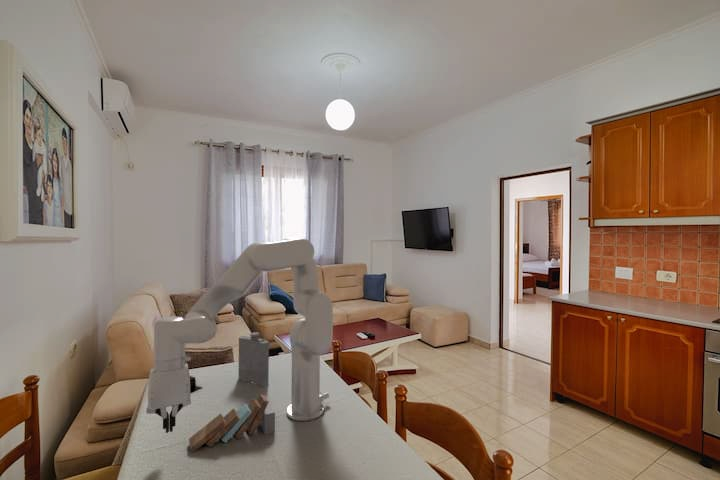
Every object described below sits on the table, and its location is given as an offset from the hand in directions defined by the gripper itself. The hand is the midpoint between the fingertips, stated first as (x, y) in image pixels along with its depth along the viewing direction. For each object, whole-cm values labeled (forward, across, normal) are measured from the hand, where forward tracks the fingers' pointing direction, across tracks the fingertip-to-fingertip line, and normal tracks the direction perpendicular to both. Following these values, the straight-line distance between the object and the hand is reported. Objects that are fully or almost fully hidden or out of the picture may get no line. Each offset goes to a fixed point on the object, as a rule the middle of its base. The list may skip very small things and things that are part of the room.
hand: (169, 429), depth 93 cm
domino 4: (+6, -18, 0) cm, 19 cm away
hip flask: (+7, -32, -37) cm, 49 cm away
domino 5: (+6, -22, 0) cm, 22 cm away
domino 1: (+6, -5, 0) cm, 8 cm away
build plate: (+7, -8, -43) cm, 44 cm away
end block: (+7, -27, 0) cm, 28 cm away
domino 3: (+6, -14, 0) cm, 15 cm away
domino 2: (+6, -10, 0) cm, 11 cm away
